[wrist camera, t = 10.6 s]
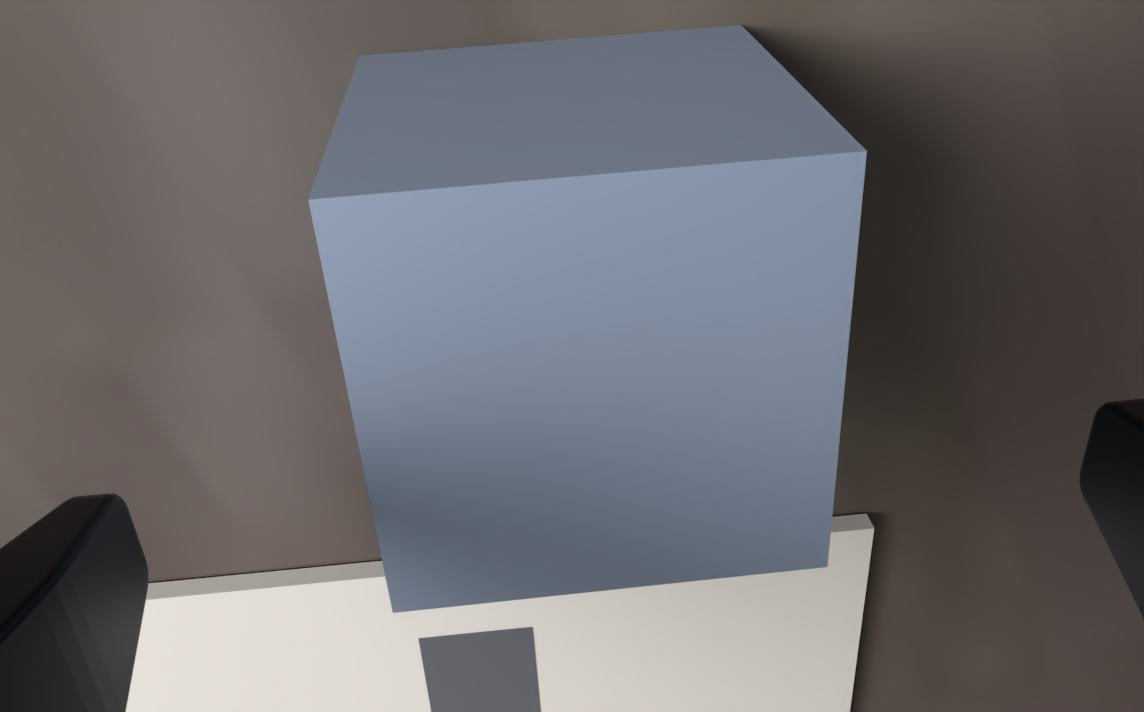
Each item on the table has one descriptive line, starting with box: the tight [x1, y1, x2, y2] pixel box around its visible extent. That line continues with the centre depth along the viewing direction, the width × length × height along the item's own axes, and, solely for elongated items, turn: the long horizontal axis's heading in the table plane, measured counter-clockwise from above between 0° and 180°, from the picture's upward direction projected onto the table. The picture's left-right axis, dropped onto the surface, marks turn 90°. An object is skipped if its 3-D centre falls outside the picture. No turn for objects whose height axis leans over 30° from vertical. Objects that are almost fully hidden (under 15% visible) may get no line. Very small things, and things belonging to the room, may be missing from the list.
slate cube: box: [308, 25, 867, 613], centre depth 12 cm, size 5×5×5 cm
